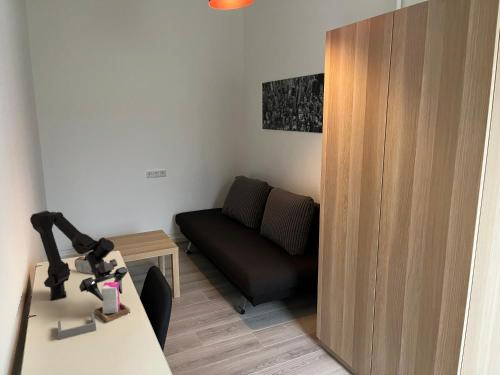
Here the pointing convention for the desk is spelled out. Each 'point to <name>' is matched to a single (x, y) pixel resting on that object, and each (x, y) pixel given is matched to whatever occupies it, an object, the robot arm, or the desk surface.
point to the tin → (82, 265)
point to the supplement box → (110, 298)
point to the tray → (107, 318)
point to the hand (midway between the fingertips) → (112, 296)
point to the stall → (76, 329)
